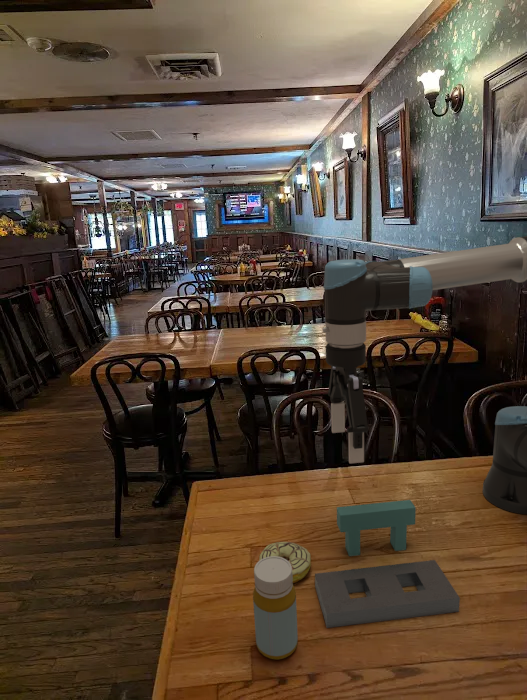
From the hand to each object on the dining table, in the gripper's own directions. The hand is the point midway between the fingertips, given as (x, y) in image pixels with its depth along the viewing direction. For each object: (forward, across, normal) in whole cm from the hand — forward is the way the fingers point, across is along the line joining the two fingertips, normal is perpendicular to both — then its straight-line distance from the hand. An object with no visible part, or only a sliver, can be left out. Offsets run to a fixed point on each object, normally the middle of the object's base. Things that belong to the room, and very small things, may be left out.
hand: (346, 446), depth 97 cm
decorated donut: (+25, +3, -14) cm, 29 cm away
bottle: (+25, +21, -18) cm, 37 cm away
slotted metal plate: (+25, +14, +3) cm, 29 cm away
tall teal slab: (+25, 0, +6) cm, 26 cm away
